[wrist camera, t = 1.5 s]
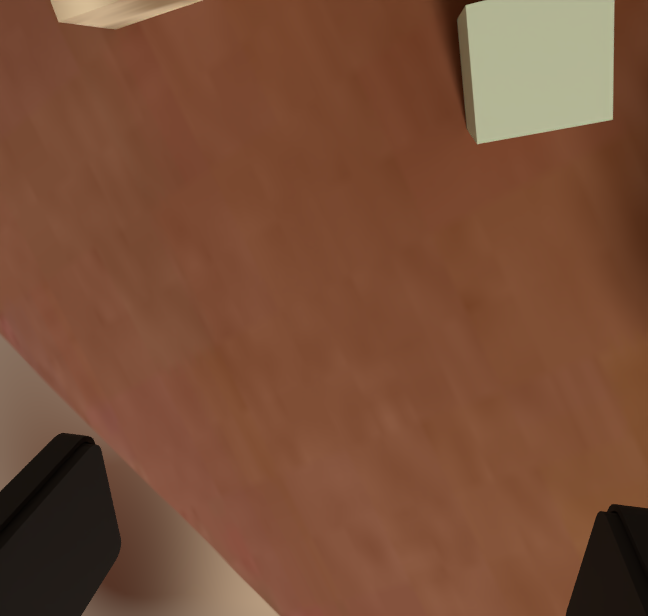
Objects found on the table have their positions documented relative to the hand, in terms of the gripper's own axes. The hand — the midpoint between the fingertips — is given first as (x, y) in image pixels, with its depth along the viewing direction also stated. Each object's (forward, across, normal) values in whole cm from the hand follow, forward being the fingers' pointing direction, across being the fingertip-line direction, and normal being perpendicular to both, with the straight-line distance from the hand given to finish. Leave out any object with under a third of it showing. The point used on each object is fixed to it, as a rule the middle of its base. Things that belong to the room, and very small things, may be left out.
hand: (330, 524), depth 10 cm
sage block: (+22, -5, -8) cm, 24 cm away
